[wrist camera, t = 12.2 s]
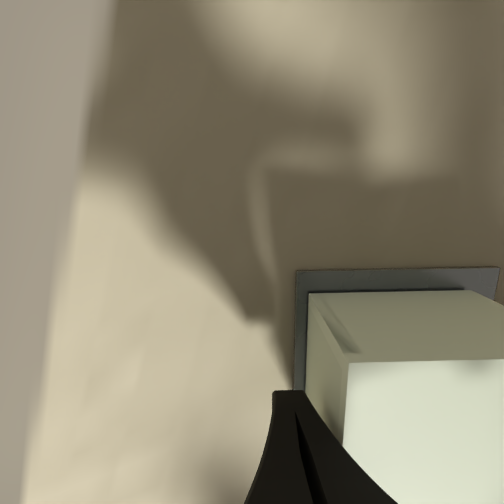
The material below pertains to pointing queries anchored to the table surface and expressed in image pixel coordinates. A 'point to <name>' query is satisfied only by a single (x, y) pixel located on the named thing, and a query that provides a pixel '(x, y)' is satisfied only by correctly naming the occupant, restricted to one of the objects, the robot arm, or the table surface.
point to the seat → (379, 281)
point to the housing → (413, 389)
